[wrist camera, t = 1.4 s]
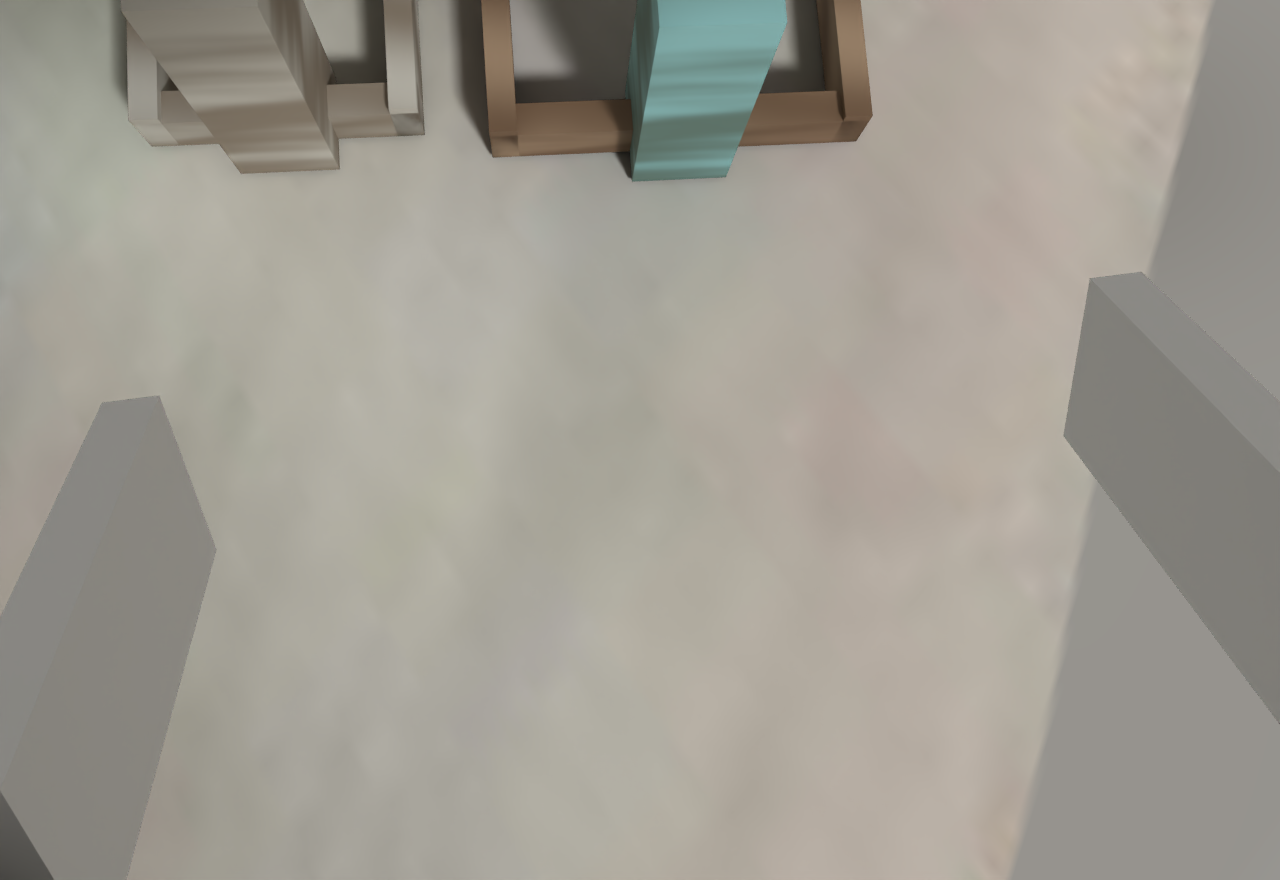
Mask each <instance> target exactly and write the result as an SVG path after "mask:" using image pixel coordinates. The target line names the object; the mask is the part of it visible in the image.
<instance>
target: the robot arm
mask: <svg viewBox="0 0 1280 880" xmlns="http://www.w3.org/2000/svg"><path fill="white" fill-rule="evenodd" d="M1064 437H1065V439H1066V440H1067V441H1068V443H1069V444H1070V445H1071V447H1072V448H1073V449H1074V451H1075V452H1076V453H1077V455H1078V456H1079V457H1080V459H1081V460H1082V461H1083V463H1084V464H1085V465H1086V467H1087V468H1088V469H1089V471H1090V472H1091V473H1092V475H1093V476H1094V477H1095V479H1096V480H1097V481H1098V483H1099V484H1100V485H1101V487H1102V488H1103V489H1104V491H1105V492H1106V493H1107V495H1108V496H1109V497H1110V499H1111V500H1112V501H1113V503H1114V504H1115V505H1116V507H1117V508H1118V509H1119V511H1120V512H1121V513H1122V515H1123V516H1124V517H1125V519H1126V520H1127V521H1128V523H1129V524H1130V525H1131V527H1132V528H1133V529H1134V531H1135V532H1136V533H1137V535H1138V536H1139V537H1140V539H1141V540H1142V541H1143V543H1144V544H1145V545H1146V547H1147V548H1148V549H1149V551H1150V552H1151V553H1152V555H1153V556H1154V557H1155V559H1156V560H1157V561H1158V563H1159V564H1160V565H1161V566H1162V568H1163V569H1164V571H1165V572H1166V573H1167V575H1168V576H1169V577H1170V579H1171V580H1172V581H1173V583H1174V584H1175V585H1176V587H1177V588H1178V589H1179V591H1180V592H1181V593H1182V595H1183V596H1184V597H1185V599H1186V600H1187V601H1188V603H1189V604H1190V605H1191V606H1192V608H1193V609H1194V611H1195V612H1196V613H1197V615H1198V616H1199V617H1200V619H1201V620H1202V621H1203V623H1204V624H1205V625H1206V627H1207V628H1208V629H1209V630H1210V632H1211V633H1212V635H1213V636H1214V637H1215V639H1216V640H1217V641H1218V643H1219V644H1220V645H1221V647H1222V648H1223V649H1224V651H1225V652H1226V653H1227V655H1228V656H1229V657H1230V659H1231V660H1232V661H1233V663H1234V664H1235V665H1236V667H1237V668H1238V669H1239V671H1240V672H1241V673H1242V675H1243V676H1244V677H1245V679H1246V680H1247V681H1248V682H1249V684H1250V685H1251V687H1252V688H1253V689H1254V691H1255V692H1256V693H1257V695H1258V696H1259V697H1260V699H1261V700H1262V701H1263V703H1264V704H1265V705H1266V707H1267V708H1268V709H1269V711H1270V712H1271V713H1272V715H1273V716H1274V717H1275V719H1276V720H1277V721H1278V722H1279V724H1280V401H1279V400H1278V399H1277V398H1276V397H1274V396H1273V395H1272V394H1271V393H1270V392H1269V391H1268V390H1267V389H1266V388H1265V387H1264V386H1263V385H1262V384H1261V383H1259V382H1258V381H1257V380H1256V379H1255V378H1254V377H1253V376H1252V375H1251V374H1250V373H1249V372H1248V371H1247V370H1246V369H1245V368H1243V367H1242V366H1241V365H1240V364H1239V363H1238V362H1237V361H1236V360H1235V359H1234V358H1233V357H1232V356H1231V355H1230V354H1229V353H1227V352H1226V351H1225V350H1224V349H1223V348H1222V347H1221V346H1220V345H1219V344H1218V343H1217V342H1216V341H1215V340H1214V339H1213V338H1211V337H1210V336H1209V335H1208V334H1207V333H1206V332H1205V331H1204V330H1203V329H1202V328H1201V327H1200V326H1199V325H1198V324H1197V323H1196V322H1194V321H1193V320H1192V319H1191V318H1190V317H1189V316H1188V315H1187V314H1186V313H1185V312H1184V311H1183V310H1182V309H1181V308H1179V307H1178V306H1177V305H1176V304H1175V303H1174V302H1173V301H1172V300H1171V299H1170V298H1169V297H1168V296H1167V295H1166V294H1165V293H1163V292H1162V291H1161V290H1160V289H1159V288H1158V287H1157V286H1156V285H1155V284H1154V283H1153V282H1152V281H1151V280H1150V279H1149V278H1147V277H1146V276H1145V275H1144V274H1143V273H1142V272H1137V273H1129V274H1121V275H1113V276H1105V277H1097V278H1090V281H1089V287H1088V293H1087V299H1086V305H1085V311H1084V317H1083V323H1082V329H1081V335H1080V340H1079V346H1078V352H1077V358H1076V364H1075V370H1074V376H1073V382H1072V388H1071V394H1070V400H1069V406H1068V412H1067V418H1066V424H1065V430H1064ZM215 553H216V547H215V544H214V542H213V539H212V536H211V533H210V531H209V528H208V525H207V523H206V520H205V517H204V515H203V512H202V509H201V507H200V504H199V501H198V498H197V496H196V493H195V490H194V488H193V485H192V482H191V480H190V477H189V474H188V472H187V469H186V466H185V463H184V461H183V458H182V455H181V453H180V450H179V447H178V445H177V442H176V439H175V436H174V434H173V431H172V428H171V426H170V423H169V420H168V418H167V415H166V412H165V410H164V407H163V404H162V401H161V399H160V396H152V397H144V398H136V399H128V400H120V401H112V402H104V403H102V404H101V406H100V408H99V410H98V413H97V415H96V417H95V419H94V421H93V423H92V425H91V427H90V429H89V432H88V434H87V436H86V438H85V440H84V442H83V444H82V446H81V448H80V451H79V453H78V455H77V457H76V459H75V461H74V463H73V465H72V467H71V469H70V472H69V474H68V476H67V478H66V480H65V482H64V484H63V486H62V488H61V491H60V493H59V495H58V497H57V499H56V501H55V503H54V505H53V507H52V510H51V512H50V514H49V516H48V518H47V520H46V522H45V524H44V526H43V528H42V531H41V533H40V535H39V537H38V539H37V541H36V543H35V545H34V547H33V550H32V552H31V554H30V556H29V558H28V560H27V562H26V564H25V566H24V569H23V571H22V573H21V575H20V577H19V579H18V581H17V583H16V585H15V587H14V590H13V592H12V594H11V596H10V598H9V600H8V602H7V604H6V606H5V609H4V611H3V613H2V615H1V617H0V880H126V879H127V875H128V872H129V868H130V864H131V861H132V857H133V853H134V850H135V846H136V842H137V839H138V835H139V831H140V828H141V824H142V820H143V817H144V813H145V809H146V806H147V802H148V798H149V795H150V791H151V787H152V784H153V780H154V776H155V773H156V769H157V765H158V762H159V758H160V754H161V751H162V747H163V743H164V740H165V736H166V732H167V729H168V725H169V721H170V718H171V714H172V710H173V707H174V703H175V699H176V696H177V692H178V688H179V685H180V681H181V677H182V674H183V670H184V666H185V663H186V659H187V655H188V652H189V648H190V644H191V641H192V637H193V633H194V630H195V626H196V622H197V619H198V615H199V611H200V608H201V604H202V600H203V597H204V593H205V589H206V586H207V582H208V578H209V575H210V571H211V567H212V564H213V560H214V556H215Z"/></svg>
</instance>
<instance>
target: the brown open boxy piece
mask: <svg viewBox="0 0 1280 880" xmlns="http://www.w3.org/2000/svg"><path fill="white" fill-rule="evenodd" d="M816 1H817V11H818V21H819V31H820V41H821V51H822V61H823V71H824V81H825V91H814V92H789V93H765V94H759V92H760V90H761V87H762V85H763V82H764V80H765V77H766V75H767V72H768V70H769V67H770V65H771V62H772V60H773V57H774V55H775V52H776V50H777V47H778V45H779V42H780V39H781V37H782V34H783V32H784V29H785V27H786V24H787V15H786V4H785V0H637V7H636V14H635V22H634V29H633V37H632V44H631V52H630V59H629V67H628V75H627V82H626V90H625V95H626V99H617V100H593V101H568V102H544V103H519V104H516V96H515V80H514V64H513V49H512V33H511V17H510V1H509V0H481V6H482V23H483V39H484V56H485V73H486V90H487V106H488V123H489V135H490V142H491V149H492V156H493V157H512V156H535V155H557V154H580V153H602V152H625V151H630V161H631V174H632V181H653V180H675V179H696V178H718V177H726V175H727V173H728V170H729V168H730V165H731V163H732V160H733V158H734V155H735V153H736V150H737V148H738V146H760V145H783V144H805V143H828V142H850V141H856V140H857V139H858V137H859V136H860V134H861V133H862V131H863V130H864V128H865V127H866V125H867V124H868V122H869V120H870V119H871V117H872V116H873V114H872V105H871V96H870V86H869V77H868V67H867V58H866V48H865V39H864V29H863V20H862V10H861V1H860V0H816Z"/></svg>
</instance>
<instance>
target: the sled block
mask: <svg viewBox="0 0 1280 880" xmlns="http://www.w3.org/2000/svg"><path fill="white" fill-rule="evenodd" d="M383 3H384V24H385V45H386V66H387V82H386V83H361V84H336V77H335V75H334V72H333V70H332V68H331V65H330V63H329V61H328V58H327V56H326V53H325V51H324V49H323V46H322V44H321V42H320V39H319V37H318V35H317V32H316V30H315V28H314V25H313V23H312V20H311V18H310V16H309V13H308V11H307V9H306V6H305V4H304V2H303V0H121V12H122V13H123V15H124V16H125V17H126V19H127V78H128V120H129V121H130V123H131V124H132V125H133V126H134V127H135V128H136V129H137V130H138V132H139V133H140V134H141V135H142V136H143V137H144V138H145V139H146V141H147V142H148V143H149V144H150V145H151V146H152V147H153V146H177V145H200V144H220V146H221V147H222V148H223V150H224V151H225V152H226V154H227V155H228V157H229V158H230V159H231V161H232V162H233V163H234V165H235V166H236V167H237V169H238V170H239V171H240V173H241V174H245V173H267V172H290V171H312V170H335V169H340V164H339V141H338V139H341V138H365V137H388V136H412V135H425V133H424V114H423V95H422V76H421V56H420V37H419V18H418V0H383ZM178 89H179V90H180V91H178Z"/></svg>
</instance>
